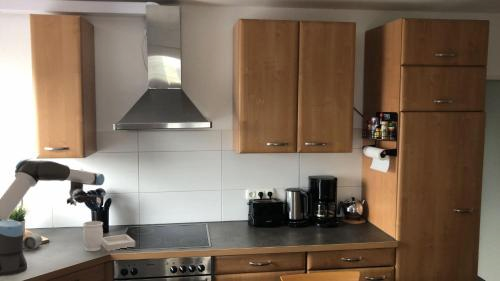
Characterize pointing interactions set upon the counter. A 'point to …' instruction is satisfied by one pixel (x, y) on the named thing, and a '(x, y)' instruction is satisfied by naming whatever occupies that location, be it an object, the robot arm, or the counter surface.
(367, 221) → the counter surface
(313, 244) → the counter surface
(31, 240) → the ceramic mug
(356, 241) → the counter surface
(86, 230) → the jar
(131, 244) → the holder
